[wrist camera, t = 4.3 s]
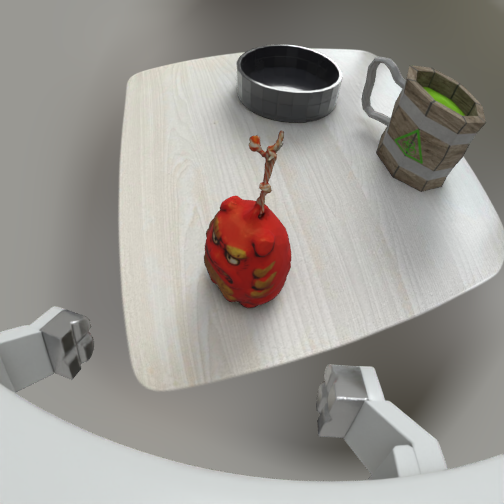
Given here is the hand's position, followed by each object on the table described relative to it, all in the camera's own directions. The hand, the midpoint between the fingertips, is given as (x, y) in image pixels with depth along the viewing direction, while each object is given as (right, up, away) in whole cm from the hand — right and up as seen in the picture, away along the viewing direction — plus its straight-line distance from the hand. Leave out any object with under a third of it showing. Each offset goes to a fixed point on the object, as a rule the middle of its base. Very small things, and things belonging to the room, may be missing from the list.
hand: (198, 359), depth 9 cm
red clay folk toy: (+1, +2, +19) cm, 19 cm away
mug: (+21, +17, +27) cm, 38 cm away
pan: (+7, +27, +31) cm, 42 cm away
